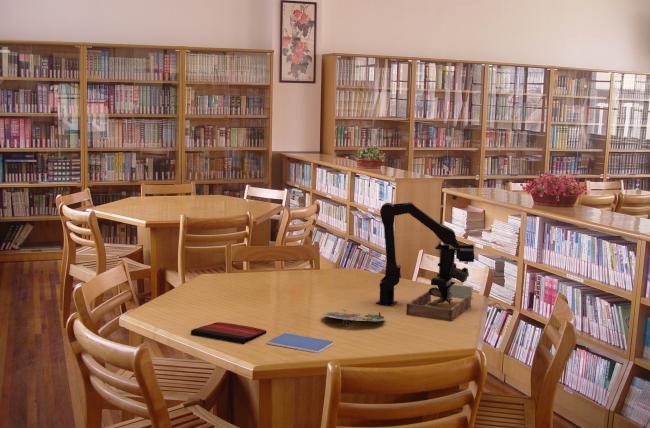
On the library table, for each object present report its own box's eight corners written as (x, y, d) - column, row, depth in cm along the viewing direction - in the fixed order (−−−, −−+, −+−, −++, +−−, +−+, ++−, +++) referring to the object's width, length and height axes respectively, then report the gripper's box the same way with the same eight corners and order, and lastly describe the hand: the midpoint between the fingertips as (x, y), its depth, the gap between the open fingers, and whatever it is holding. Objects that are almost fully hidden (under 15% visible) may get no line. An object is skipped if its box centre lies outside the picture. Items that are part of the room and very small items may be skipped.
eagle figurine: (447, 298, 314) (425, 294, 312) (453, 286, 309) (431, 282, 308) (449, 312, 308) (427, 308, 307) (455, 300, 304) (433, 296, 302)
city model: (395, 322, 290) (395, 305, 290) (382, 331, 267) (383, 313, 267) (330, 317, 296) (330, 301, 296) (312, 326, 274) (313, 308, 274)
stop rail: (470, 299, 318) (471, 287, 318) (445, 295, 323) (446, 284, 322) (472, 298, 320) (472, 286, 320) (447, 294, 325) (447, 283, 324)
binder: (244, 338, 251) (190, 329, 260) (244, 345, 251) (190, 336, 260) (269, 328, 266) (217, 320, 275) (269, 335, 266) (217, 326, 275)
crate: (451, 321, 285) (451, 310, 284) (406, 314, 292) (406, 304, 292) (470, 306, 307) (471, 296, 306) (428, 300, 314) (428, 290, 314)
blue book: (336, 344, 255) (336, 340, 255) (318, 355, 244) (318, 351, 244) (284, 336, 263) (284, 332, 263) (265, 345, 252) (265, 341, 252)
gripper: (459, 266, 292) (457, 307, 293) (474, 259, 308) (472, 298, 310) (431, 263, 297) (429, 303, 298) (447, 256, 313) (445, 295, 315)
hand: (445, 300), depth 305 cm, fingers closed
